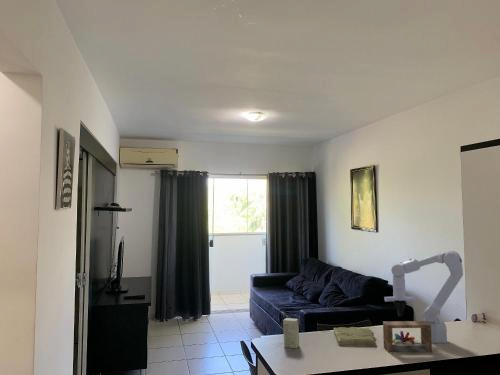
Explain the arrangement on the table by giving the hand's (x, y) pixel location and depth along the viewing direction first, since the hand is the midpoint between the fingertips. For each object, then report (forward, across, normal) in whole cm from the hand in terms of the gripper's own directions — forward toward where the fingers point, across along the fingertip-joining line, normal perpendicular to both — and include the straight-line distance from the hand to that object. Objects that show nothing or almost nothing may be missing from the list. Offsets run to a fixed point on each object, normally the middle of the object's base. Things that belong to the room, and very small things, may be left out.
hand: (400, 315), depth 190 cm
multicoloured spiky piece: (+10, +5, +17) cm, 20 cm away
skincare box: (+10, +56, +15) cm, 59 cm away
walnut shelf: (+9, +5, +20) cm, 23 cm away
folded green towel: (+10, +24, +5) cm, 27 cm away
